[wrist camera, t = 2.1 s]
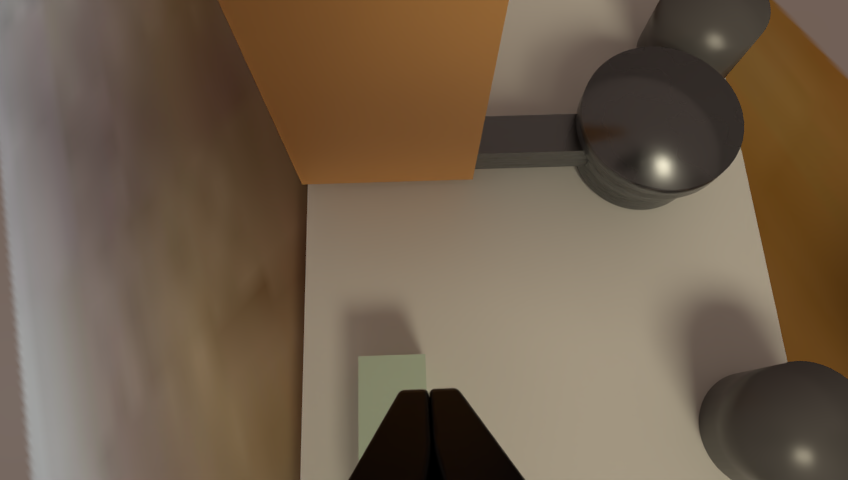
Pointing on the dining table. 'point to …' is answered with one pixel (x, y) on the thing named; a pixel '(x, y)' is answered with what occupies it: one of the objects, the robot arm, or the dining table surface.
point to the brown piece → (473, 101)
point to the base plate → (567, 292)
